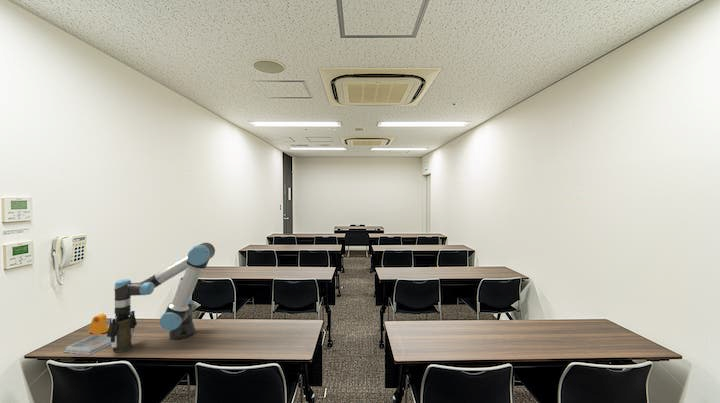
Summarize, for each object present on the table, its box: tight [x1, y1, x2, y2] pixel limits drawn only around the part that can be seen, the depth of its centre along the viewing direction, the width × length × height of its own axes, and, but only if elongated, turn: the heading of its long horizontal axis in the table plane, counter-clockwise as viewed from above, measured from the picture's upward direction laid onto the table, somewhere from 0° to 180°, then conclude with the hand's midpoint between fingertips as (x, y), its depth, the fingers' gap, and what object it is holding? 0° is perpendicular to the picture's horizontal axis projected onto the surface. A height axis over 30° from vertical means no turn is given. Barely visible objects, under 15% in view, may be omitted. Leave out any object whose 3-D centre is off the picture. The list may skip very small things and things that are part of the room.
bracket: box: [87, 313, 109, 335], centre depth 198 cm, size 11×7×12 cm, turn 92°
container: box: [112, 316, 133, 353], centre depth 176 cm, size 9×9×18 cm
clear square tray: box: [62, 334, 112, 356], centre depth 178 cm, size 18×18×3 cm
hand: (122, 342), depth 176 cm, fingers open, 10 cm apart
